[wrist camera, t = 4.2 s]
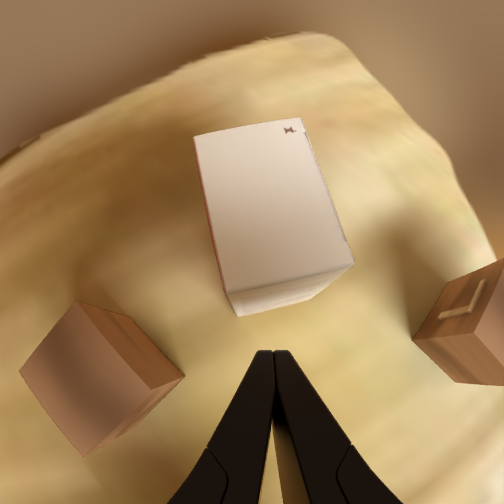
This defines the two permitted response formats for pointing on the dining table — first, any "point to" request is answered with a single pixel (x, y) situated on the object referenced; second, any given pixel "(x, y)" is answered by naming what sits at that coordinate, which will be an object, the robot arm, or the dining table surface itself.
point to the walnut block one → (97, 375)
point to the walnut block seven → (468, 328)
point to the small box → (269, 215)
